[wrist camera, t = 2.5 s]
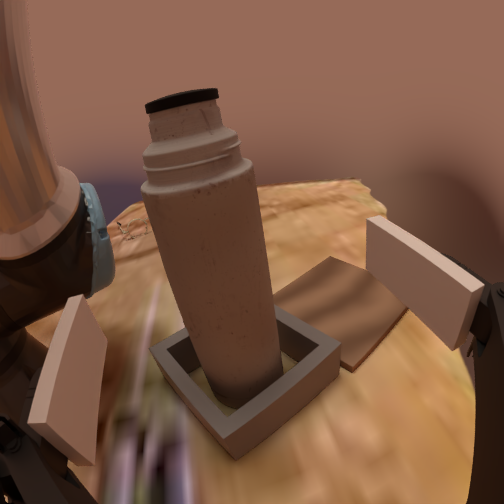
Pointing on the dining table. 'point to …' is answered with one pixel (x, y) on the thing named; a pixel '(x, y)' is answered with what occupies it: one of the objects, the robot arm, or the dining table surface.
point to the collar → (268, 401)
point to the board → (343, 307)
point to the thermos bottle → (212, 243)
